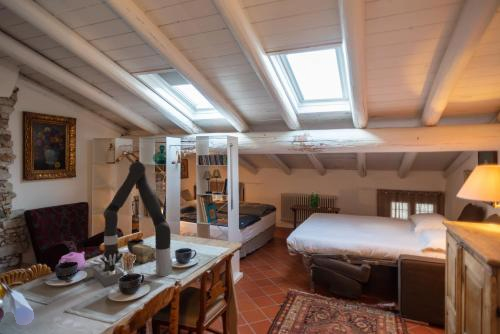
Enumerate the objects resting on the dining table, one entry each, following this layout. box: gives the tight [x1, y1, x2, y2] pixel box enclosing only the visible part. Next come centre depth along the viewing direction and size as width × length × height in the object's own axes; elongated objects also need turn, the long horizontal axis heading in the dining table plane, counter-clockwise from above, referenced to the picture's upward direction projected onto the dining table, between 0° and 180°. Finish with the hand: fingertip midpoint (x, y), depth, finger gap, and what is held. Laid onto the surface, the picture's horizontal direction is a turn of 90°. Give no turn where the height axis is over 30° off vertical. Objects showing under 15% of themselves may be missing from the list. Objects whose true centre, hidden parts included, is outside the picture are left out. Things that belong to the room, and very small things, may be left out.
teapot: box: [58, 251, 86, 271], centre depth 202 cm, size 20×12×13 cm, turn 165°
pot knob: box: [103, 260, 110, 272], centre depth 189 cm, size 4×4×6 cm
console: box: [92, 264, 124, 288], centre depth 190 cm, size 11×22×6 cm, turn 43°
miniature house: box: [131, 243, 156, 265], centre depth 221 cm, size 15×14×11 cm
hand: (111, 270), depth 184 cm, fingers closed
